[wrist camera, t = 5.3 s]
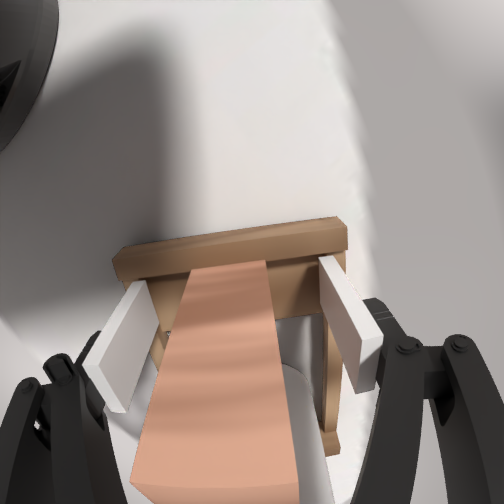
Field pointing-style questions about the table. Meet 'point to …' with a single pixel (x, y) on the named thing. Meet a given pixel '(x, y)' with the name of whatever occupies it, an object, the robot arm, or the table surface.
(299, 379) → the cup
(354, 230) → the table surface
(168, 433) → the sled
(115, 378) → the robot arm
